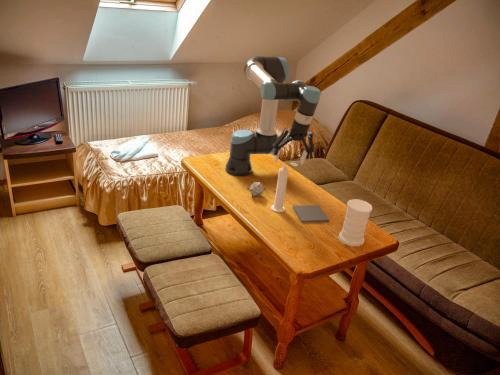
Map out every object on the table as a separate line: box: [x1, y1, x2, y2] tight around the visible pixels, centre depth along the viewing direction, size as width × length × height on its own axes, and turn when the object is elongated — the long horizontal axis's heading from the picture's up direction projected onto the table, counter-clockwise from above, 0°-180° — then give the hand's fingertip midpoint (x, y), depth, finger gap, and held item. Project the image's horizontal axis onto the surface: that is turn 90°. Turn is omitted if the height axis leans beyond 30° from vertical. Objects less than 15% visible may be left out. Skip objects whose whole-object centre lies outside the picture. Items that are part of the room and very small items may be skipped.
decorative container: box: [338, 198, 373, 247], centre depth 196 cm, size 12×12×18 cm
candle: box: [270, 163, 289, 214], centre depth 212 cm, size 7×7×25 cm
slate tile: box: [292, 204, 330, 224], centre depth 216 cm, size 14×14×1 cm
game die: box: [247, 180, 266, 198], centre depth 225 cm, size 9×8×10 cm
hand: (288, 162), depth 204 cm, fingers open, 13 cm apart
